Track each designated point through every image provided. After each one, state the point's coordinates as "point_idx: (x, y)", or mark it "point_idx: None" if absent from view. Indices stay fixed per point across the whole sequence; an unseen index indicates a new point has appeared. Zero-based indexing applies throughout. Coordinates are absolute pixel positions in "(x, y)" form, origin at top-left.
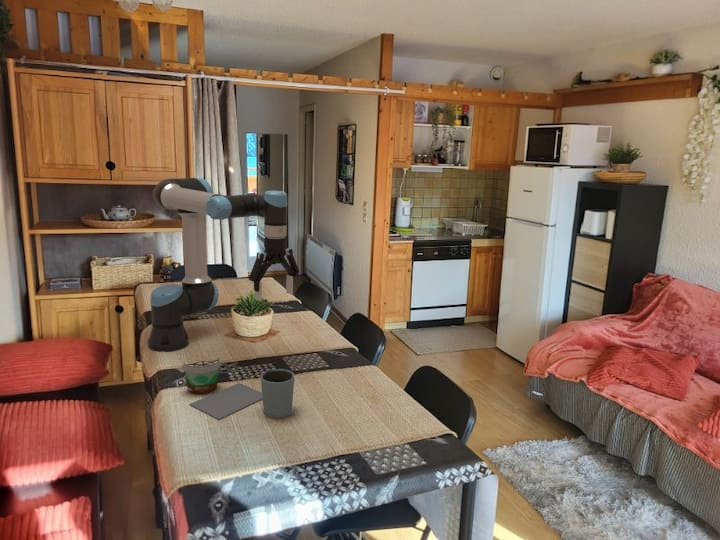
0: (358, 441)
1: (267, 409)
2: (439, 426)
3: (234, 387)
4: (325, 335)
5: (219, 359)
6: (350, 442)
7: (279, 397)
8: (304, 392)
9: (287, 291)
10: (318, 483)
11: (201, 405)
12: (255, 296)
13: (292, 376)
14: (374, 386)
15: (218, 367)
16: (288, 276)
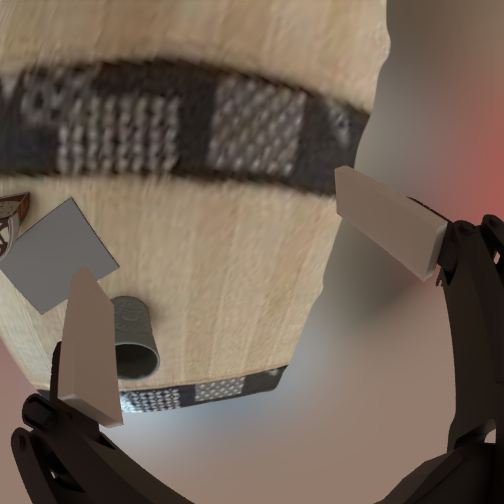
0: (203, 373)
1: None
2: (291, 356)
3: (59, 217)
4: (367, 32)
5: (11, 220)
6: (194, 374)
7: (127, 356)
8: (188, 266)
9: (342, 184)
10: (145, 405)
11: (11, 271)
12: (71, 288)
13: (156, 360)
14: (301, 273)
15: (14, 243)
16: (427, 248)
